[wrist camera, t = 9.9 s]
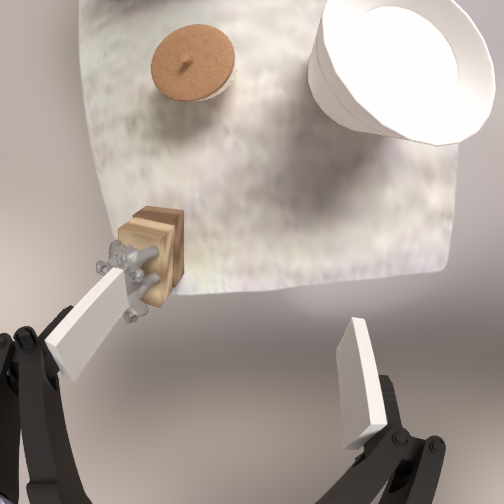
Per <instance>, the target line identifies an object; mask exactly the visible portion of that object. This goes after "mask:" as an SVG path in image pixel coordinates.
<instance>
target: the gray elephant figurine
mask: <svg viewBox="0 0 504 504" xmlns="http://www.w3.org/2000/svg"><path fill="white" fill-rule="evenodd" d="M158 255H159V249H158V247H157V246H151V247H150V248H147V249H142V250H138V249H135V248H134V247H133V246H132V245H128V246H127V247H126V245H125V244H122V245H121V241H120V240H115V241H114V242H112V243H111V244H110V248H109V260H108V263H105V262H103V261H98V262H97V264H96V270H97V273H99V274H101V275H104V276H105V275H106V273H104V272H103V271H102V270H103V268H105V267H107V270H108V272H109V271H110V270H111V269H112V268H113V267H114V268H118V269H122V270H124V276H125V283H126V291H127V297H128V304H129V307H128V308H127V309H126V311H125V312H124V313H123V315H124V318H125V320H126V323H132V322H134V321H136V320H137V319H138V317H137V316H144V315H146V314H147V312H148V306H147V305H146V304H145V303H144V302H143V301H141V300H140V299H141V298H142V297H143V296H144V294H145V293H146V292H147V291H148V290H149V288H150V287H151V286H152V285H153V284H155V283H157V282H159V280H160V276H159V274H158V273H156V272H152V273H150V274H148V275H144V271H143V270H142V269H141V266H142V265H143V264H144V262H145V261H147V260H149V259H151V258H155V257H157V256H158ZM108 272H107V273H108ZM129 313H131V314H134V315H135V316H133V317H131V318H129Z"/></svg>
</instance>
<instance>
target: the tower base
mask: <svg viewBox="0 0 504 504" xmlns="http://www.w3.org/2000/svg"><path fill="white" fill-rule="evenodd" d="M134 217H137V218H142V219H146V220H151V221H156V222H160V223H165V224H169V225H174V226H175V227H174V245H173V271H172V287H175V286H176V285H177V283H178V282H179V280H180V279H181V277H182V276H183V274H184V210H176V209H167V208H159V207H151V206H146V207H144V208H143V209H141V210H140V211H138V212H137V213H135V214H134V215H133V218H134Z"/></svg>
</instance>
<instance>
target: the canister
mask: <svg viewBox="0 0 504 504" xmlns="http://www.w3.org/2000/svg"><path fill="white" fill-rule="evenodd" d="M308 84H309V87H310V90H311V92H312V95H313V98H314V100H315V101H316V102H317V104H318V105H319V107H320V108H321V109H322V111H323V112H324V113H325V114H326V115H327V116H329V117H330V118H331V119H332V120H334V121H335V122H336V123H337V124H339V125H341V126H344V127H346V128H348V129H351V130H353V131H358V132H365V133H371V134H378V135H384V136H389V137H395V138H400V139H405V140H410V141H415V142H420V143H424V144H429V145H433V146H443V145H450V144H457V143H461V142H463V141H464V140H466V139H467V138H469V137H471V136H472V135H474V134H475V133H477V132H478V131H479V130H480V129H481V127H482V126H483V124H484V123H485V121H486V120H487V118H488V116H489V115H490V113H491V109H492V105H493V100H494V96H495V77H494V67H493V63H492V60H491V57H490V54H489V51H488V49H487V46H486V43H485V41H484V39H483V37H482V35H481V34H480V32H479V31H478V29H477V27H476V26H475V24H474V23H473V22H472V20H471V18H470V17H469V16H468V15H467V13H466V12H465V11H464V10H463V9H462V8H461V7H460V6H459V5H457V3H456V2H455V1H453V0H327V2H326V5H325V7H324V10H323V13H322V16H321V20H320V23H319V27H318V31H317V35H316V38H315V42H314V45H313V49H312V53H311V57H310V60H309V64H308Z"/></svg>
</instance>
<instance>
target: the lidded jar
mask: <svg viewBox="0 0 504 504" xmlns="http://www.w3.org/2000/svg"><path fill="white" fill-rule="evenodd" d="M237 65H238V61H237V55H236V51H235V49H234V47H233V45H232V43H231V41H230V40H229V39H228V37H227V36H226V35H225V34H224V33H223V32H222V31H220V30H218V29H217V28H214V27H212V26H208V25H201V24H197V25H189V26H185V27H183V28H180V29H178V30H176V31H174V32H173V33H171V34H170V35H168V36H167V37H166V38H165V39H164V40H163V41H162V42H161V43H160V45H159V46H158V48H157V49H156V51H155V54H154V56H153V59H152V64H151V74H152V79H153V81H154V84H155V85H156V87H157V88H158V89H159V91H160V92H161V93H163V94H164V95H165V96H167V97H169V98H171V99H174V100H177V101H184V102H191V101H203V100H207V99H211V98H213V97H215V96H217V95H219V94H220V93H222V92H223V91H224V90H226V89H227V87H228V86H229V85H230V84H231V83H232V81H233V79H234V77H235V75H236V72H237Z"/></svg>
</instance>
